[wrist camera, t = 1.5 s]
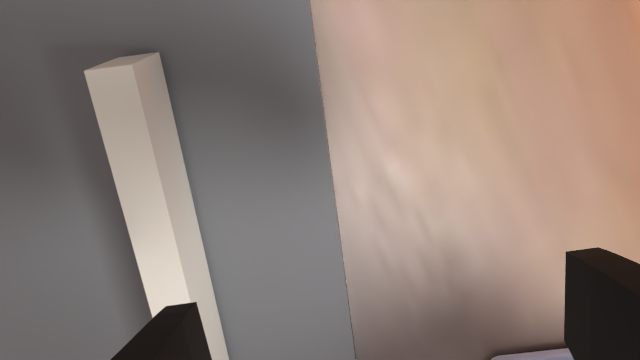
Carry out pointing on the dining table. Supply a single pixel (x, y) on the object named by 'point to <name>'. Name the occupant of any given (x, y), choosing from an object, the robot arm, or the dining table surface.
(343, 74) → the dining table surface
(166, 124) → the cream bar
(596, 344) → the robot arm
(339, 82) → the dining table surface
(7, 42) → the board
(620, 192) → the dining table surface
